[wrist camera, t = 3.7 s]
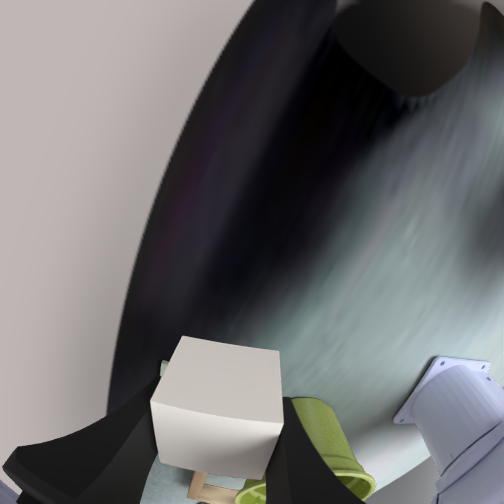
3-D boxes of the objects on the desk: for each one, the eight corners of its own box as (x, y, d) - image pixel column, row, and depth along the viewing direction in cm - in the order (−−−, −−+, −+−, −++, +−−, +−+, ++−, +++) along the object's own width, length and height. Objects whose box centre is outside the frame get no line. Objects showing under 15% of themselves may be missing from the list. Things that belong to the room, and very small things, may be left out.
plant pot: (344, 442, 21) (360, 512, 13) (249, 449, 22) (242, 522, 13) (359, 374, 19) (392, 460, 10) (238, 384, 19) (224, 477, 11)
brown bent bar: (384, 405, 20) (392, 423, 17) (296, 500, 25) (297, 513, 23) (163, 359, 19) (152, 378, 17) (153, 472, 25) (148, 485, 22)
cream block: (278, 350, 11) (283, 423, 7) (262, 413, 12) (261, 479, 8) (182, 335, 11) (150, 400, 7) (181, 400, 12) (160, 462, 8)
